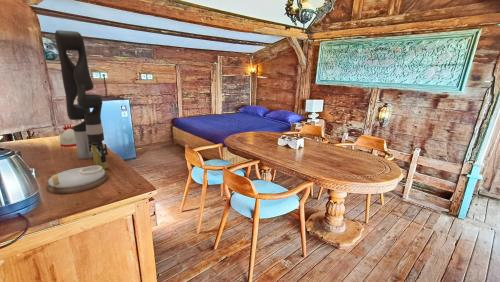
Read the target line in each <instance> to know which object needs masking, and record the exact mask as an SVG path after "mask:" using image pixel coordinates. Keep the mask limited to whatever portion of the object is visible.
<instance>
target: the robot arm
mask: <svg viewBox="0 0 500 282" xmlns="http://www.w3.org/2000/svg"><path fill="white" fill-rule="evenodd" d="M54 39H55V44H56V48H57V54H58V56H59V57H58V58H59V62H60V63H59V64H60V69H61V78H62V84H63V89H64V94H65V103H66V113H67V117H68V119H69V120H72V121H77V120H83V121H81V122H80V123H79V124H75V125H73V130H74V135H75V140H76V146H75V147H76V151H77V156H78V159H81V160H82V159H83V160H85V159H92V160H94V158H93V152H92V145H97V147H96V146H95V149H96V150H97V152H98V153H99V154H100V157H101V162H102V163H104V162H106V163H107V157H106V156H107V155H108V154H109V153H108V148H107V147H108V146H107V144H106V143H103V141H105V133H104V127H103V124H102V118H101V117H102V116H101V115H102V108H103V99H102V97H101V96H100V95H99V94H97V93H95V94H93V93H91V94H86V92H89V91H92V90H94V84H93V83H94V82H93V79H92V77H91V73H90V69H89V64H88V63H89V62H88V57H87V52H86V46H85V42H84V39H83V36H82V34H81V33H80V32H78V31H72V30H61V29H59V30H55V32H54ZM68 51H69V52H71V51H73V52H75V51H76V52H77V53H78V58H77V61H76V65H75V64H74V62H73V60H71V58H70V57H69V56H68V53H67V52H68ZM76 98H77V104H76V103H75V101H76ZM74 103H75V104H74ZM90 109H92V111H90ZM102 143H103V144H102ZM99 150H100V151H99ZM101 152H102V153H101Z"/></svg>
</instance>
